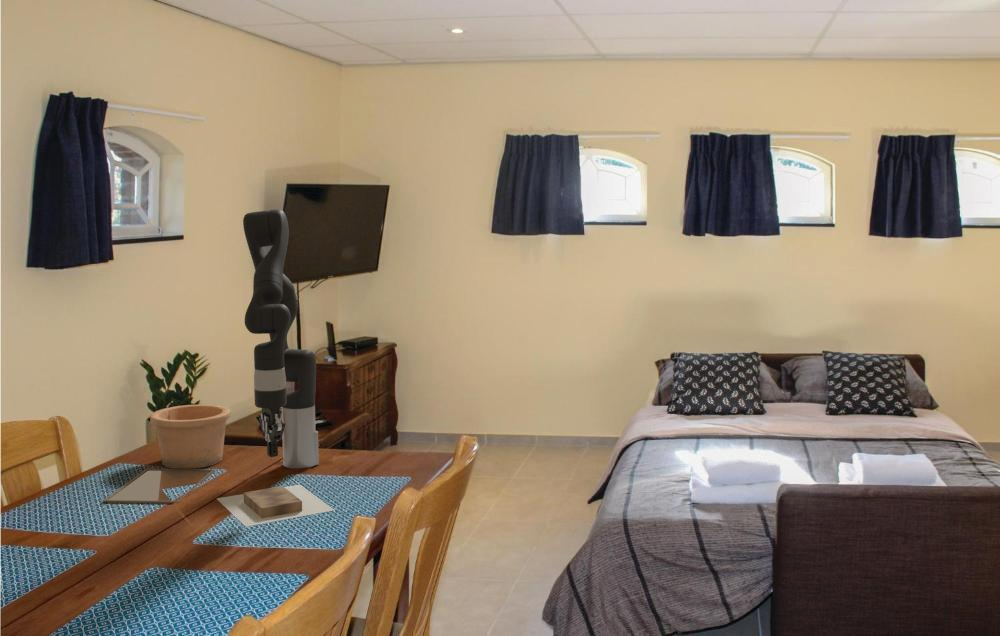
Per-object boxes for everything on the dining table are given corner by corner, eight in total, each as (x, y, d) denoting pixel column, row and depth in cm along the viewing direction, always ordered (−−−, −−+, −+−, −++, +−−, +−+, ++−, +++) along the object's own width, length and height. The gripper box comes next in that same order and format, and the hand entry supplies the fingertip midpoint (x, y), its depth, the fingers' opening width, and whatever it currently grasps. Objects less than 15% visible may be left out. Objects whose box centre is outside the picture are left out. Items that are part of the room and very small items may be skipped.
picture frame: (178, 505, 237) (215, 473, 264) (178, 501, 237) (214, 469, 264) (102, 504, 237) (146, 472, 265) (102, 500, 237) (146, 468, 265)
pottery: (135, 467, 268) (133, 417, 266) (186, 448, 288) (184, 401, 286) (199, 475, 260) (197, 424, 258) (246, 455, 281) (245, 407, 279)
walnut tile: (282, 486, 242) (302, 501, 230) (282, 495, 242) (302, 511, 230) (243, 492, 236) (261, 508, 224) (243, 502, 237) (261, 518, 225)
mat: (299, 486, 251) (299, 484, 251) (335, 511, 231) (334, 510, 231) (216, 500, 239) (216, 498, 239) (245, 528, 219) (245, 526, 219)
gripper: (294, 389, 225) (297, 460, 228) (276, 379, 236) (278, 447, 239) (264, 393, 221) (266, 465, 224) (246, 383, 232) (249, 451, 235)
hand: (272, 455), depth 231 cm, fingers closed
